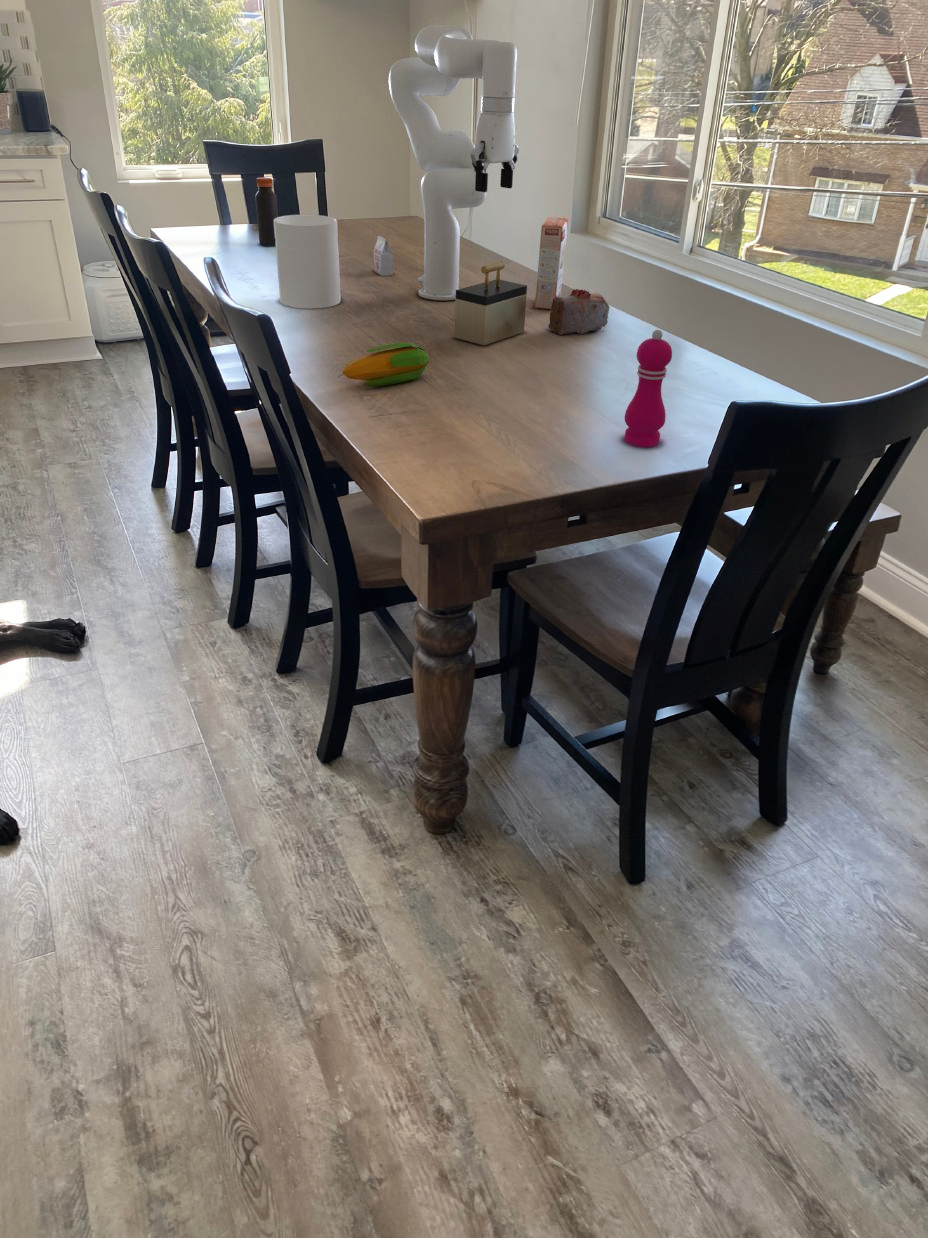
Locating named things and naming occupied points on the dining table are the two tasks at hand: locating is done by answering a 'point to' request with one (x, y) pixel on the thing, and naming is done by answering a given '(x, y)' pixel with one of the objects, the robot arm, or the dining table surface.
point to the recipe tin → (490, 309)
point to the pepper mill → (648, 393)
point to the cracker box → (551, 261)
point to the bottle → (266, 211)
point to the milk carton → (382, 257)
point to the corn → (389, 365)
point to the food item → (578, 313)
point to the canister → (307, 261)
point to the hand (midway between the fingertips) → (493, 189)
